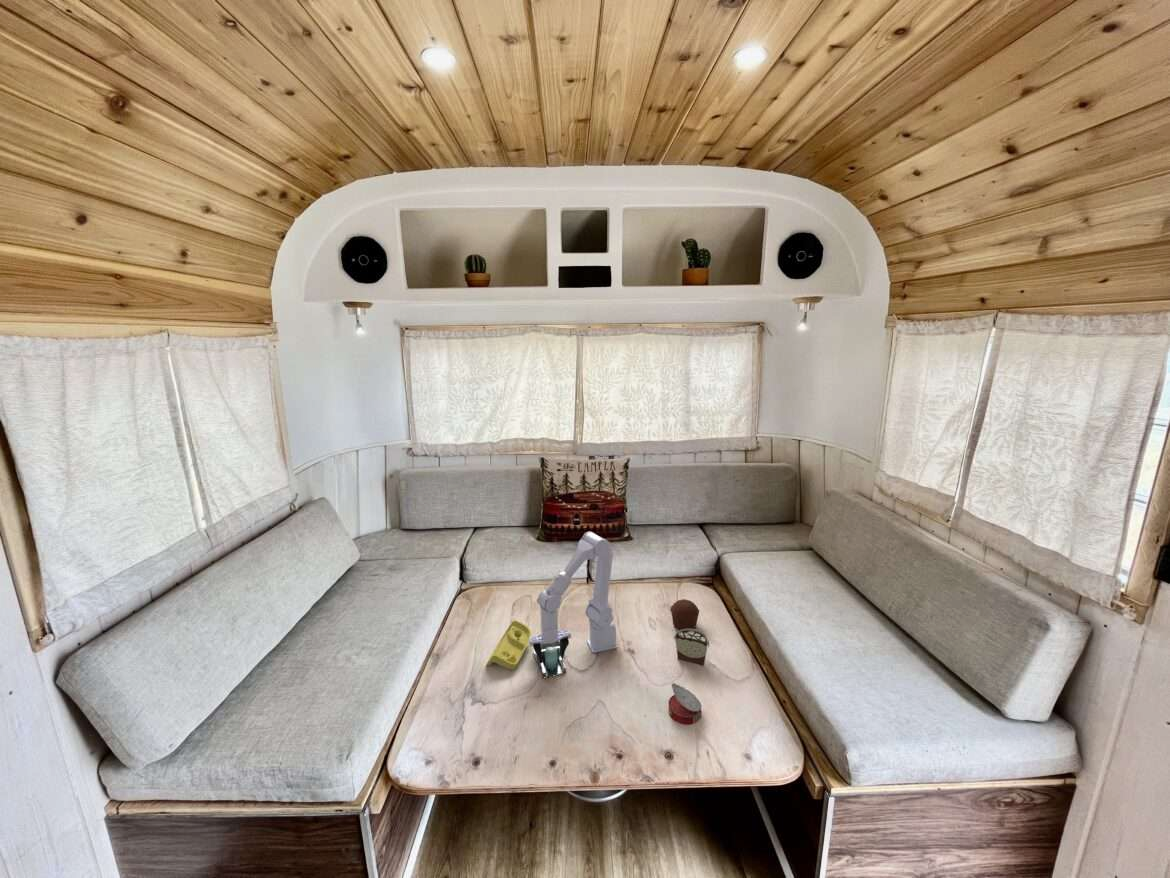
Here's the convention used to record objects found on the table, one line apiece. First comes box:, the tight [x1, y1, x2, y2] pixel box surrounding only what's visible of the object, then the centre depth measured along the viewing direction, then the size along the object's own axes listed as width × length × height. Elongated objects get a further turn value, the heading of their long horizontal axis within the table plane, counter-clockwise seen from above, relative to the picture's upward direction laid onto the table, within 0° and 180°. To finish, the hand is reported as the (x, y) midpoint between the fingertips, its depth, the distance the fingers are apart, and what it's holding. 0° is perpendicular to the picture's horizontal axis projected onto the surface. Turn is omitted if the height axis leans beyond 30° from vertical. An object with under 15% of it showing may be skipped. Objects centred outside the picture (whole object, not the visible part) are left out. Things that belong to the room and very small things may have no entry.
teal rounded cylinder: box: [545, 647, 558, 670], centre depth 170 cm, size 4×4×7 cm
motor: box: [533, 640, 567, 679], centre depth 173 cm, size 10×15×6 cm
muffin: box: [669, 598, 700, 631], centre depth 192 cm, size 12×11×10 cm
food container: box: [673, 628, 710, 667], centre depth 173 cm, size 12×6×10 cm, turn 65°
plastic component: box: [485, 619, 532, 671], centre depth 179 cm, size 20×7×10 cm
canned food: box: [668, 682, 702, 726], centre depth 148 cm, size 11×10×10 cm
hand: (551, 659), depth 170 cm, fingers open, 7 cm apart
